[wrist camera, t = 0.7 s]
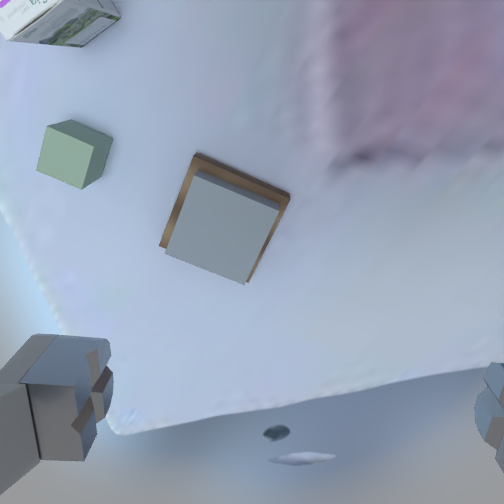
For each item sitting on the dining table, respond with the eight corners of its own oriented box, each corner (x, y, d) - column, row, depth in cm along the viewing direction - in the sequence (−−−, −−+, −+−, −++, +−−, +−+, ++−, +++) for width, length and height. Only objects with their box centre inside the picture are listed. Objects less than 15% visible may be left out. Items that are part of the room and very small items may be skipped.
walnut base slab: (197, 151, 50) (193, 155, 47) (289, 192, 52) (290, 199, 49) (164, 236, 55) (158, 245, 52) (249, 272, 56) (248, 282, 54)
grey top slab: (198, 169, 48) (194, 175, 45) (278, 203, 49) (279, 211, 47) (170, 243, 52) (164, 253, 49) (245, 273, 53) (244, 285, 50)
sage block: (71, 119, 49) (46, 125, 43) (113, 138, 49) (93, 146, 44) (61, 159, 51) (36, 170, 45) (101, 176, 51) (81, 189, 46)
